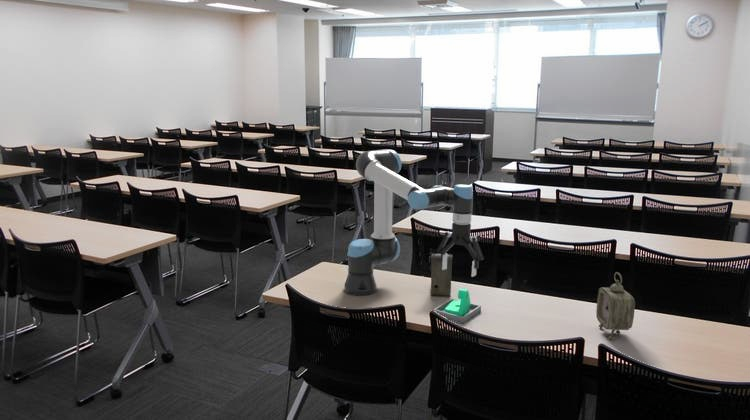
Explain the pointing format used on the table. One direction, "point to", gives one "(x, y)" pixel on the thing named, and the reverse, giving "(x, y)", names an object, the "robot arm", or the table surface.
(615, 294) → the tabletop clock
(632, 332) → the table surface
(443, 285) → the vintage camera
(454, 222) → the robot arm
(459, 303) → the camera mount
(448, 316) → the tray
